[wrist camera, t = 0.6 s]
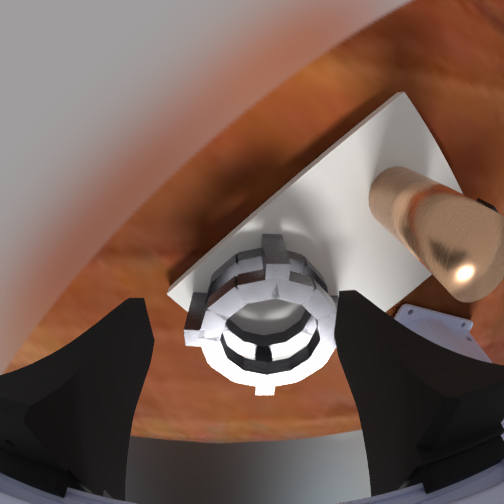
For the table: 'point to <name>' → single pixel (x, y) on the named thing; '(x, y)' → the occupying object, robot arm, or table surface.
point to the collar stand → (255, 290)
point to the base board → (335, 220)
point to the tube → (442, 230)
